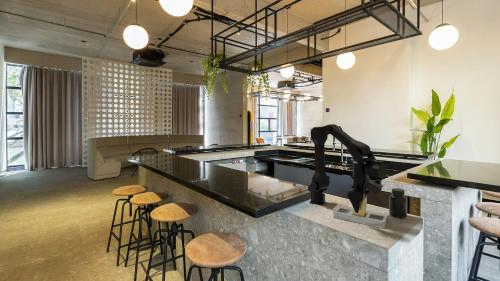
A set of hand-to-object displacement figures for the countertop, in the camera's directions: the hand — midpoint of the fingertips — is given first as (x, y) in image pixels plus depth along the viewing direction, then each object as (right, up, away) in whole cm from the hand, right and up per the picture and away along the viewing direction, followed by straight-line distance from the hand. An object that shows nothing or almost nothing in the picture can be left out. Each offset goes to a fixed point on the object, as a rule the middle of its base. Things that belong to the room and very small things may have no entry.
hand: (359, 209), depth 105 cm
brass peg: (0, -5, 0) cm, 5 cm away
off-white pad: (-1, -3, +13) cm, 13 cm away
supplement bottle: (+18, -4, +3) cm, 19 cm away
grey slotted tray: (0, -5, 0) cm, 5 cm away
